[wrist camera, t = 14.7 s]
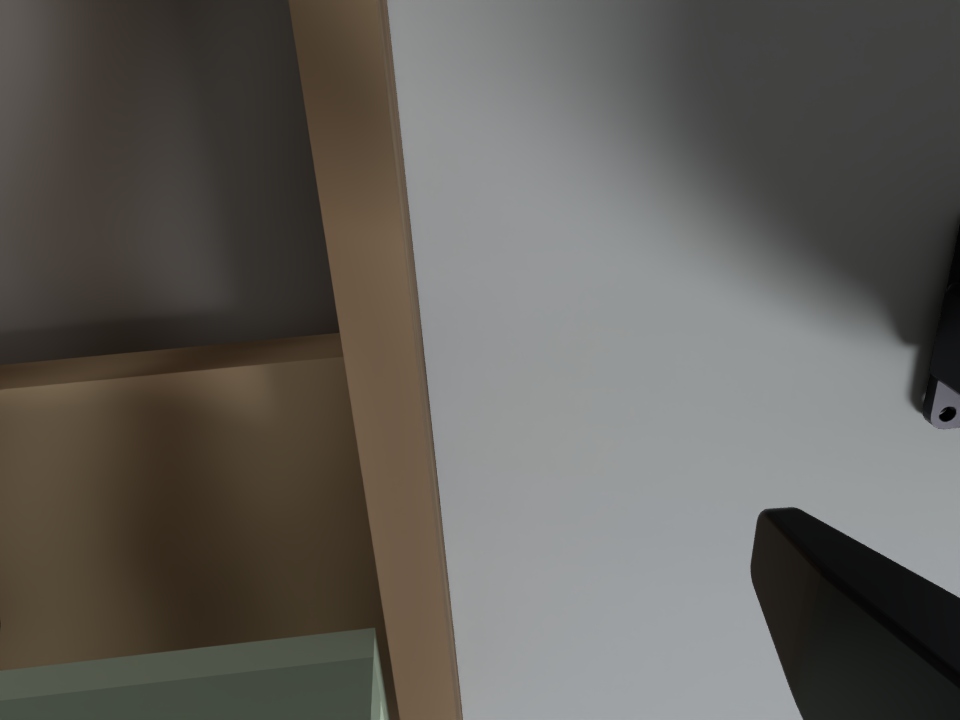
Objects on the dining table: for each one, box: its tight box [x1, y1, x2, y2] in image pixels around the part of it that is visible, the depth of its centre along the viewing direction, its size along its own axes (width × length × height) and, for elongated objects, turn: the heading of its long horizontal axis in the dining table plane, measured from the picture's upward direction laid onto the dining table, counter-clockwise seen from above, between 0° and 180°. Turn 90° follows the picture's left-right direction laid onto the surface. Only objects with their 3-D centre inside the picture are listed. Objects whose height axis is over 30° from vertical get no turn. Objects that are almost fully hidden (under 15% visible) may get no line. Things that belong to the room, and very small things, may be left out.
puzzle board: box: [0, 0, 463, 720], centre depth 16 cm, size 13×34×7 cm, turn 4°
